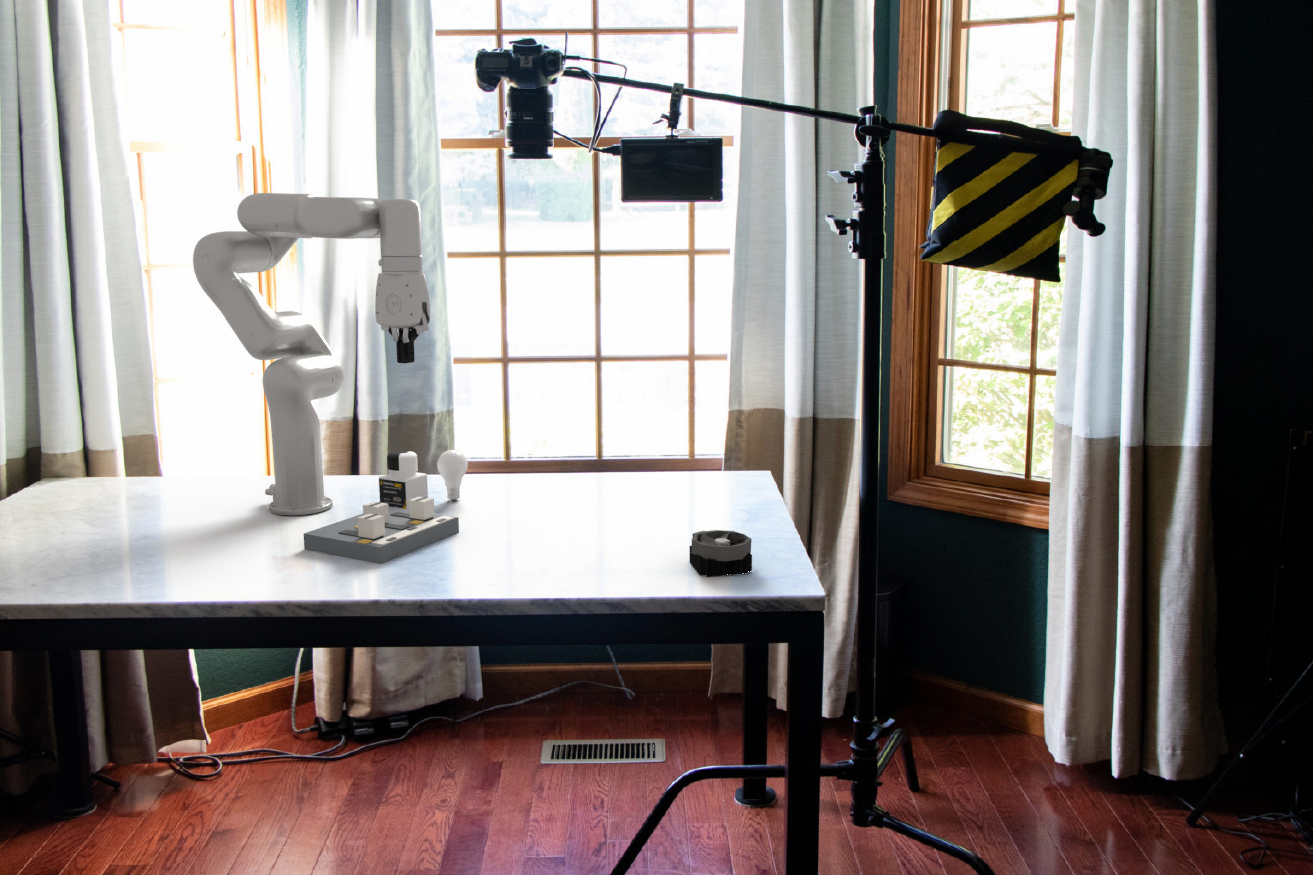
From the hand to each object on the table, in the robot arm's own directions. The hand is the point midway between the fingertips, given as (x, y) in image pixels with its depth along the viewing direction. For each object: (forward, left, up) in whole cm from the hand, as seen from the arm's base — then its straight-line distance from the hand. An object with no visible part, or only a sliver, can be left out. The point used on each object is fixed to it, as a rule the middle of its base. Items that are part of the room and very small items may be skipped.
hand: (405, 362), depth 207 cm
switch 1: (+1, -12, -29) cm, 31 cm away
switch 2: (+7, -19, -29) cm, 35 cm away
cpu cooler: (+65, +3, -32) cm, 73 cm away
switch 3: (+7, -5, -29) cm, 30 cm away
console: (+3, -12, -32) cm, 34 cm away
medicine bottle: (-9, +8, -32) cm, 34 cm away
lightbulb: (-4, +18, -32) cm, 37 cm away
